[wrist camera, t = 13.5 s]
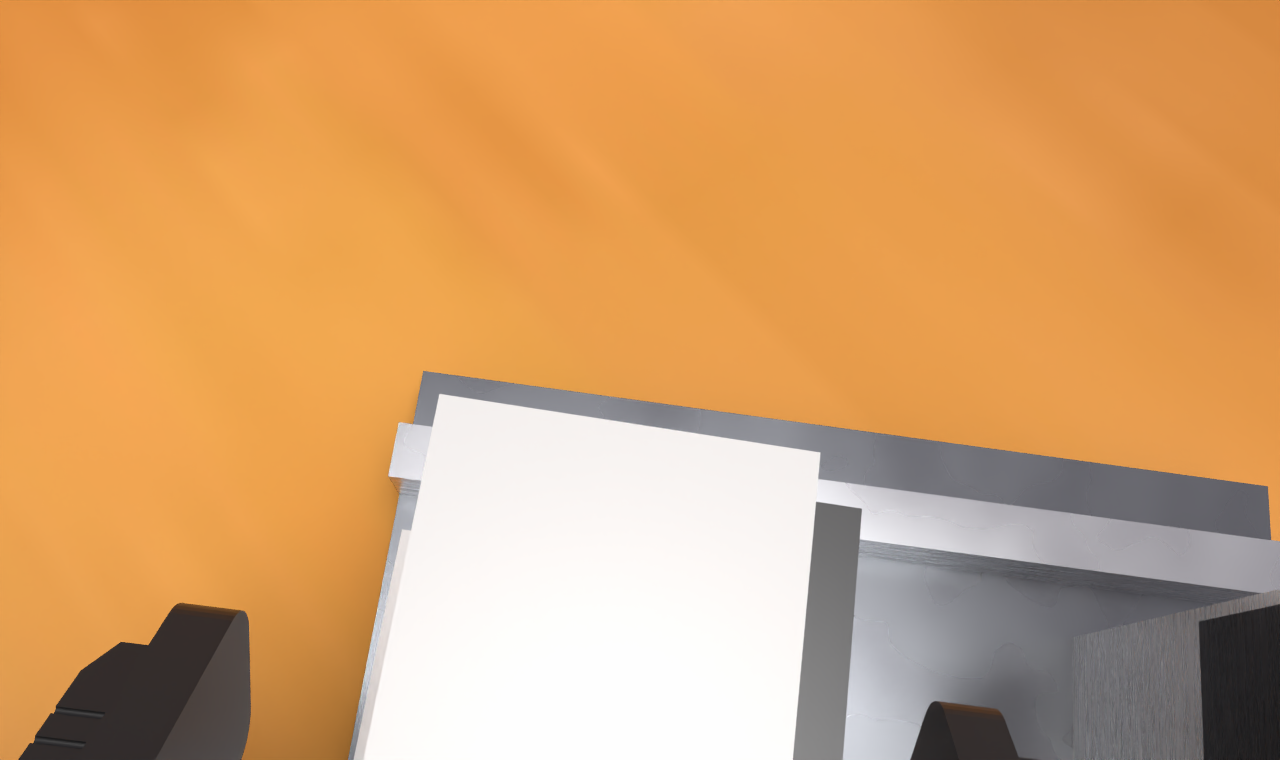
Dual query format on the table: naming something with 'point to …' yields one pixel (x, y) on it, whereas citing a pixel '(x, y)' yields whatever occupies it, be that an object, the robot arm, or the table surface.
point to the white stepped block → (612, 597)
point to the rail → (1004, 586)
